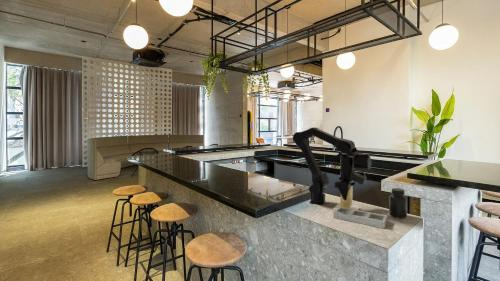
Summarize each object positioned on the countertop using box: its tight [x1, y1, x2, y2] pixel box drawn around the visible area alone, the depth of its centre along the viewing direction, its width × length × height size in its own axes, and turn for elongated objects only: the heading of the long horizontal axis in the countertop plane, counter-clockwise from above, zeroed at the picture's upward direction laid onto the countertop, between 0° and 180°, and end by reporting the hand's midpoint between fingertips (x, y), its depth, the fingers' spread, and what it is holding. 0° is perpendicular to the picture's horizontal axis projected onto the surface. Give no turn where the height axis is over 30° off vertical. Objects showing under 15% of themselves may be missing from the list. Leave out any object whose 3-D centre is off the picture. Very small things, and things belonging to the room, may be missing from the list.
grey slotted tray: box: [332, 207, 388, 229], centre depth 105 cm, size 20×8×2 cm, turn 54°
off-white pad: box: [332, 203, 360, 211], centre depth 118 cm, size 10×9×1 cm
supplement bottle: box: [388, 187, 408, 220], centre depth 108 cm, size 7×7×12 cm
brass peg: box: [339, 185, 354, 208], centre depth 117 cm, size 4×4×10 cm
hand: (346, 198), depth 117 cm, fingers closed on brass peg, 4 cm apart
